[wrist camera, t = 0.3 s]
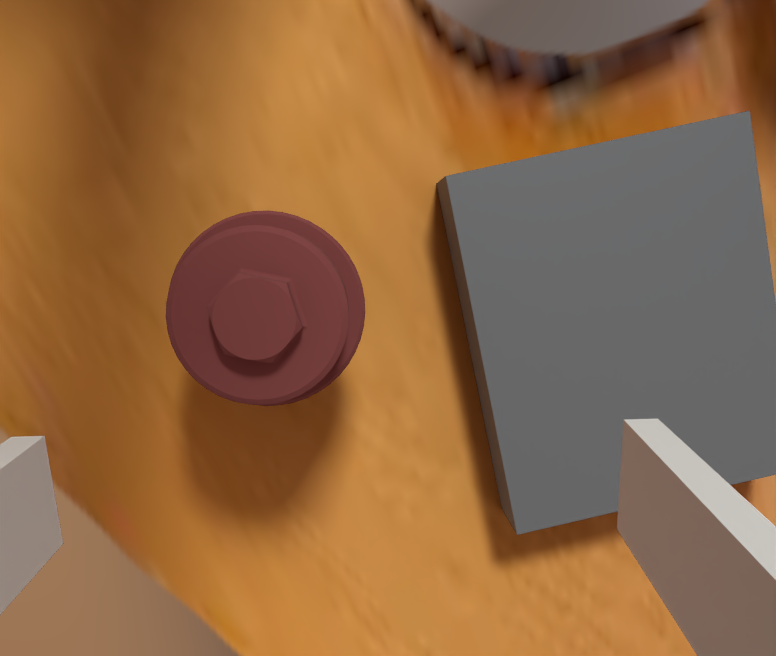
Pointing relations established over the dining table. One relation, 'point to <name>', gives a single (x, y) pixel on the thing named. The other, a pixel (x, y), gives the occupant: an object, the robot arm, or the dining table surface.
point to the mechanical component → (265, 308)
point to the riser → (616, 311)
